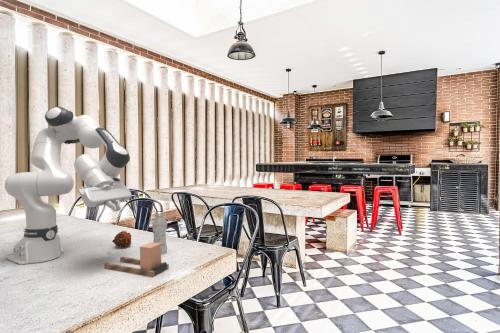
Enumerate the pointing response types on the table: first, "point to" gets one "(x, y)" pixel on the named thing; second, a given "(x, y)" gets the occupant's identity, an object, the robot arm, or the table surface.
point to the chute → (137, 271)
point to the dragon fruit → (122, 239)
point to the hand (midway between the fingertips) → (117, 210)
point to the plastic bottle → (160, 230)
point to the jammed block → (150, 256)
